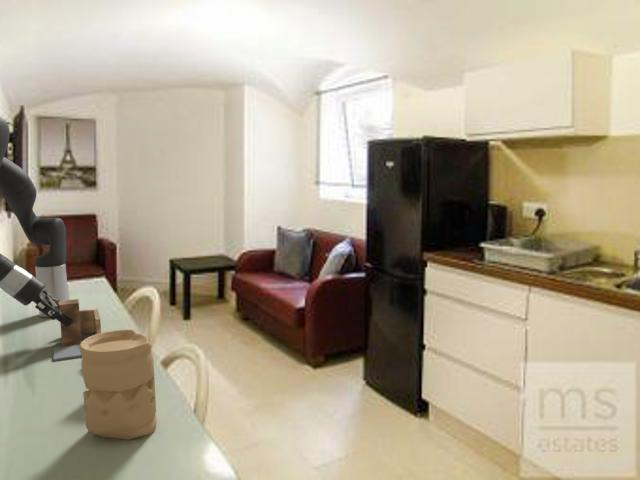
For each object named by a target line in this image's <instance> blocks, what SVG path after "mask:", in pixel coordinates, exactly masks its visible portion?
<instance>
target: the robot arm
mask: <svg viewBox="0 0 640 480" xmlns="http://www.w3.org/2000/svg"><path fill="white" fill-rule="evenodd" d="M10 131H11V130H10V128H9V125H8V123H7V121H6V120H5V119H4V118H2V117H0V195H1V197H2V198H3V199H4V201H5V202H6V203H7V205H8V206H9V208H10V209H11V210H12V212H13V214H14V216H15V217H16V219H17V221H18V222H19V225H20V226H21V229H22V230H23V232H24V233H23V234H25V236H26V239H28V241H29V242H30V243H31V244H32V245H35V246H49V250H48V251H47V252H46V253H44V254H41V255H39V256H36V257H35V258H34V265H35V267H34V268H35V276H34V275H33V274H32V273H30V272H29V271H27V270H26V269H24V268H23V267H21V266H19V265H17V264H16V263H15V262H14V261H12V260H11V259H10V258H8V257H7V256H5V255H3V254H2V253H0V289H1V290H2V291H3V292H5V293H6V294H7V295H9V296H10V297H11V298H13V299H14V300H16V301H17V302H19V303H20V304H22V305H23V306H29V305H30V304H31V303H32V302H33V303H34V304H36V305H35V306H34V308H35V309H37V310H38V315H39V317H40V318H49V319H50V320H52V321H55V320H57V321H58V322H59V323H60V322H61V323H62V324H64V325H65V326H66V327H69V326H70V325H71V324H72V323H73V320H72V319H70V318H69V317H68V316H66V315H65V314H63V313H62V311H60V310H59V301H65V300H70V291H69V284H68V278H67V264H66V263H67V262H66V258H67V244H66V243H67V242H66V241H67V235H66V233H67V232H66V231H67V230H66V225H65V222H64V220H63V219H62V218H59V217H39V216H38V215H36V214H35V211H34V210H33V208H34V205H35V203H36V199H37V188H36V186H35V185H34V182H33V181H32V179H31V177H30V176H29V174H28V173H27V172H26V171H25V170H24V169H23V168H22V167H20V166H19V165H17V164H16V163H14V162H13V161H12V160H10V159H9V158H7V157H5V155H6V151H7V149H8V146H9V143H10V137H11V135H10V134H11V133H10Z"/></svg>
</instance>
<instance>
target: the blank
mask: <svg viewBox="0 0 640 480" xmlns="http://www.w3.org/2000/svg"><path fill="white" fill-rule="evenodd" d="M59 310H60V311H62V313H63V314H65V315H66V316H68V317H69V318H70V319H72V320H73V323H72V324H71V325H70V326H69V327H66V326H65V325H64V324H62V323H61V322H59V323H60V335H61V346H62V347H67V346H74V345H80V343H81V342H82V341H83V340H82V334H81V326H80V312H79V310H80V302H79V298H77V299H69V300H65V301H59Z"/></svg>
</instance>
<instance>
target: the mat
mask: <svg viewBox="0 0 640 480" xmlns="http://www.w3.org/2000/svg"><path fill="white" fill-rule="evenodd" d="M77 358H79V359H80V358H83V357H82V355H81V353H80V344H78V345H71V346H63V347H54V348H53V362H57V361H64V360H72V359H77Z"/></svg>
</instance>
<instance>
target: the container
mask: <svg viewBox="0 0 640 480" xmlns="http://www.w3.org/2000/svg"><path fill="white" fill-rule="evenodd" d="M79 345H80V353H81V355H82V357H81V358H82V359H81V362H80V363H81V365H80V366H81V374H82V378H83V379H82V380H83V382H84V385H85V388H86V389H87V390H85V391H84V392H83V393H82V394H83V408H84V421H85V422H84V423H85V428H86V429H87V433H88V434H91V435H96V436H101V437H102V438H109V439H110V438H111V439H121V440H128V441H129V440H130V441H131V440H134V439H136V438H140V437H143V436H149V435H150V434H153V433H155V431H156V428H157V415H156V413H157V403H156V402H157V401H156V381H155V363H154V355H153V352H152V345H151V343H150V340H149V337H147V336H146V335H144V333H137V332H136V331H135V330H134V329H130V328H129V329H126V328H125V329H116V330H109V331H104V332H101V333H99V334H93V335H91V336H88V337H86V338H84V339H83V340H82V342H81V343H80V344H79Z"/></svg>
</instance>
